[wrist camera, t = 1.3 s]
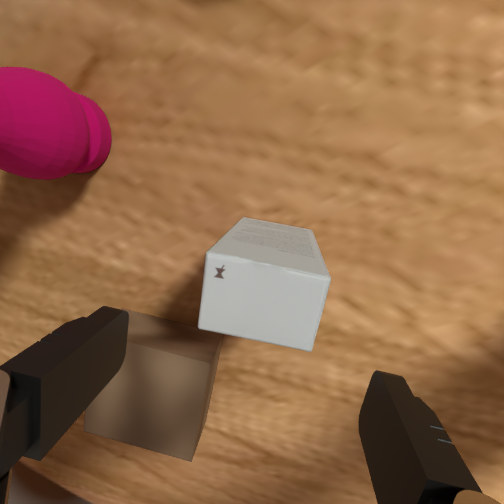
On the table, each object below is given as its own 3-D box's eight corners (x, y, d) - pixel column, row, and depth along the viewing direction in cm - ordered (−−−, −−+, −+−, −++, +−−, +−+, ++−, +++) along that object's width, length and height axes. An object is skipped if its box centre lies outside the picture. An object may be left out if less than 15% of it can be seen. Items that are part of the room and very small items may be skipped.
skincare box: (234, 263, 27) (192, 329, 16) (242, 215, 26) (203, 248, 15) (304, 277, 27) (312, 356, 15) (315, 229, 26) (333, 274, 14)
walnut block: (224, 332, 29) (210, 363, 24) (206, 418, 32) (191, 461, 27) (123, 307, 30) (91, 332, 25) (114, 393, 33) (83, 431, 28)
